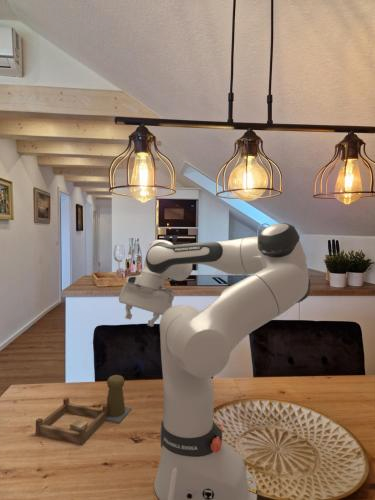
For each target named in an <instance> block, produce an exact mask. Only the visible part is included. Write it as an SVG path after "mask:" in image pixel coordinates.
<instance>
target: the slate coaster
mask: <svg viewBox="0 0 375 500" xmlns="http://www.w3.org/2000/svg"><path fill="white" fill-rule="evenodd" d="M131 411H132V407H129V406H128V407H127V406H125V413H124V414H123V415H121V416H118V417H110V416H108V417H107V418H105V421H104V422H109V423H115V424H119V425H120V424H121V423H122V422H123V420H124V419H125V418H126V416H127V415H128V414H129V413H130V412H131ZM97 417H98V416H96V417H95V418H94V420H95V419H96V418H97Z"/></svg>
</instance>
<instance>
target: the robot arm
mask: <svg viewBox="0 0 375 500" xmlns="http://www.w3.org/2000/svg"><path fill="white" fill-rule="evenodd" d="M300 240H301V239H300V235H299V232H298V231H297V229H296V227H295V226H294V225H292V224H289V223H286V222H279V223H274V224H271V225H269V226H266V227H264V228H263V229H262V230H261V231H260V232H259V233H258V235H257V236H250V237H249V236H248V237H242V238H236V239H230V240H229V239H228V240H220V241H206V242H204V241H203V242H192V243H191V242H190V243H183V244H182V243H181V244H173V242H171V241H168V240H166V239H155V240H153V241H152V243H151V244H150V245H149V248H148V250H147V253H146V255H145V258H144V264H143V265H144V266H143V268H142V270H141V271H140V274H139V275H132V276H131V275H130V276H127V277H126V279H125V282H126V283H125V284H123V286H122V288H121V291H120V293H119V297H118V302H119V303H120V304H124V305H125V308H124V309H125V313H126V314H125V317H124V319H127V320H131V319H132V317H133V314H131V310H133V307H134V308H137V309H140V310H144V311H147V312H151V313H152V318H151V319H150V320H147V326H149V327H154V325H155V322H156V321H157V320H158V319H159V320H160V321H159V333H160V334H159V335H160V337H159V339H160V358H161V370H162V381H163V410H162V411H163V415H162V417H163V418H162V421H161V422H160V434H159V435H160V436H159V441H160V448H161V452H160V457H159V458H160V459H159V465H158V469H157V474H156V476H155V479H154V484H153V488H154V492H155V495H156V496H157V498H158V499H159V500H258V493H257V494H254V493H252V492H249V491H248V487H249V488H253V489H256V490H257V491H258V487H257V483H256V480H255V478H254V476H253V475H252V473H251V472H249V471H247V469H246V465H245V462H244V459H243V457H242V455H241V454H240V453H239V452H238V451H236V450H235V449H234V448H233V447H231V446H230V445H229V444H228V443H226V441H225V440H223V423H222V422H221V423H220V425H217V424H216V422H215V421H214V410H215V409H214V407H215V406H214V405H215V402H214V401H215V400H214V399H215V389H214V384H213V379H212V378H213V377H215V376H217V375H219V374H220V373H221V372H222V371H223V370H224V369H225V367H227V365H228V362H229V360H230V356H231V353H232V351H233V350H234V349H235V348H236V347H237V346H238V344H240V343H241V341H243V340H244V339H245V338H246V337H247V336H248V335H250V334H251V333H253V331H256V330H257V329H259V328H260V327H262V326H264V325H266V324H267V323H269V322H270V321H272V320H274V319H276V318H277V317H280V315H282V314H284V313H286V312H287V311H288V310H290V309H291V308H292V307H294V306H295V305H296V304H298V303H301V302H303V301H304V300H306V299H307V298H308V297H309V295H310V294H311V286H312V285H311V279H310V277H309V270H308V264H307V257H306V253H305V251H304V248H303V246H302V243H301V241H300ZM193 265H203V266H208V267H211V268H213V269H216V270H218V271H221V272H223V273H226V274H229V275H239V276H240V275H241V276H242V275H249V276H248V277H245V278H244V279H242V280H239V281H237V282H236V283H234V284H232V285H230V286H229V287H227V288H225V289H223V290H222V291H221V293H220V295H219V296H218V297H217V299H215V301H213V302H212V303H211V304H210V305H208V306H207V307H205V308H204V309H202V310H198V309H196V308H195V307H193V306H190V305H184V304H183V305H182V304H179V305H173V301H174V298H175V292H174V291H173V289H171V288H167V287H164V283H165V280H166V278H168V279H170V280H173V281H179V282H183V281H184V280H187V279H188V278H189V277H190V275H191V273H192V272H193V267H194V266H193ZM160 315H161V318H160ZM247 481H248V482H249V481H252V482H253V483H248V482H247Z"/></svg>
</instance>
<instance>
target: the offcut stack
mask: <svg viewBox="0 0 375 500" xmlns="http://www.w3.org/2000/svg"><path fill="white" fill-rule="evenodd" d="M88 426H89V425H88V421H85V420H81V419H75V420H74V421H72V422H71V423H70V424H69V428H68V430H73V431H77V432H79V429H80V428H81V427H86V428H87V427H88Z"/></svg>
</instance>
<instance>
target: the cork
mask: <svg viewBox="0 0 375 500" xmlns="http://www.w3.org/2000/svg"><path fill="white" fill-rule="evenodd" d="M106 384H107V388H108V392H107V399H106V404H105V405H108V416H110V417H118V416H121V415H123V414H124V413H125V407H126V406H125V398H124V397H125V396H124V390H123V387H124V385H125V378H124V377H123V376H122V375H120V374H114V375H111V376H109V377H108V378H107V382H106Z"/></svg>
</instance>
